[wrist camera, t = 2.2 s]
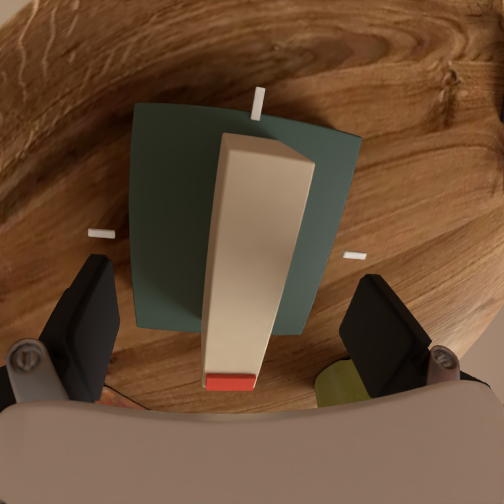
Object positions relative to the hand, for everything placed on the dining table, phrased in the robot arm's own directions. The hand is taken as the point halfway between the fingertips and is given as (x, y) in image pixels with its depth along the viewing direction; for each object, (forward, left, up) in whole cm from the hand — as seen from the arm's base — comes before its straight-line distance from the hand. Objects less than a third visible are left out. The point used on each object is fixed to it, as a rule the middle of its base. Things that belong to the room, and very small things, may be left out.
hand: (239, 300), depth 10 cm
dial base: (0, 0, -7) cm, 7 cm away
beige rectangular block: (0, 0, -4) cm, 4 cm away
